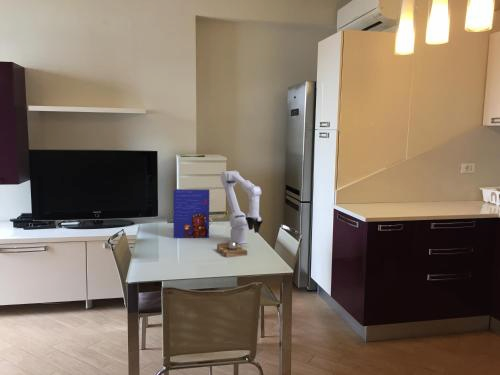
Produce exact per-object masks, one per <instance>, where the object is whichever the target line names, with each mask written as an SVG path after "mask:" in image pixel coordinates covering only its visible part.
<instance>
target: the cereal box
mask: <svg viewBox="0 0 500 375" xmlns="http://www.w3.org/2000/svg"><path fill="white" fill-rule="evenodd" d="M209 218H210V189H201V188H200V189H197V188H196V189H195V188H194V189H192V188H190V189H189V188H181V189H179V188H173V239H209V238H210V226H209V224H210V220H209Z"/></svg>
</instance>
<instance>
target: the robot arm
mask: <svg viewBox="0 0 500 375" xmlns="http://www.w3.org/2000/svg"><path fill="white" fill-rule="evenodd" d="M220 181H221V184H222V186H223V190H224V193H225V195H226V200H227V202H228V205H229V208H230V209H229V210H230V211H231V214H230V215H229V217H228V219H229V226H230V227H231V229H230V239H229V240H228V241H229V242H230V241H235V242H238V245H243V244H247V243H248V242H247V241H246V240H245V237H246V236H245V235H246V234H245V233H246V232H245V230H246V228H247V227H248V230H249V231H252V230H253V232H254V233H255V234H256V233H257V234H258V233H259V231H260V228H261V225H262V224H263V220H262V217H261V215H260V197H261V196H262V194H263V193H262V188H261V187H260V186H259V185H258V186H257V185H255V184H253V182H251V181H250V180H247V179H246V180H245V178H243V177H242V176H241V175H240V172H238V170H230V171H229V170H227V171H226V170H223V171H222V172H221V175H220ZM237 183H238V185H240V186H241V189H242V190H244V191H245V193H247V195H248V196H247V197H248V206H249V207H248V212H247V213H246V214H245V213H244V212H243V211H241V208H240V205H239V202H238V199H237V196H236V193H235V190H234V187H235V186H236V185H237Z"/></svg>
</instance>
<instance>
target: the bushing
mask: <svg viewBox="0 0 500 375" xmlns="http://www.w3.org/2000/svg"><path fill="white" fill-rule="evenodd" d="M228 243H229V250H236V242H235V241H229V242H228Z"/></svg>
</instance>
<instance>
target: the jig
mask: <svg viewBox="0 0 500 375" xmlns="http://www.w3.org/2000/svg"><path fill="white" fill-rule="evenodd" d="M216 251H217V252H218V253H220V255H223V256H224V257H225V258H235V257H241V256H243V257H244V256H248V250H246V249H245V248H244V247H242V246H240V245H239V244H238V242H236V250H229V242H223V243H221V242H220V243H216Z"/></svg>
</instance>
